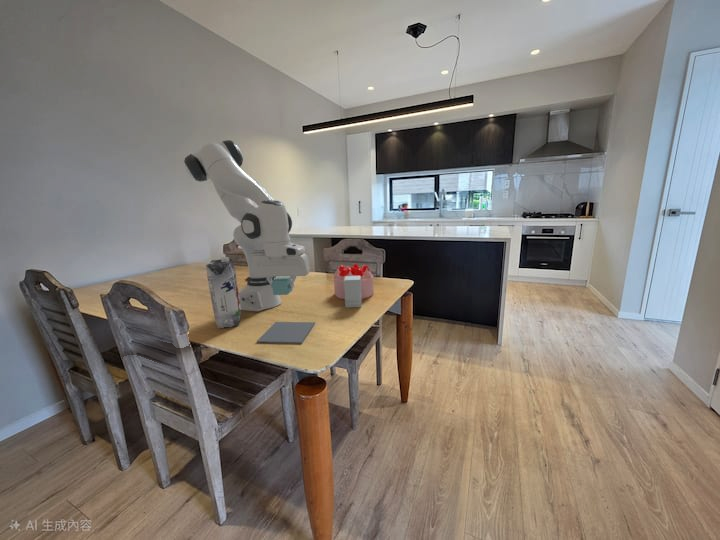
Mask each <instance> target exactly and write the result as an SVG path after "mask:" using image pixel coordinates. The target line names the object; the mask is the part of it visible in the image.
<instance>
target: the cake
mask: <svg viewBox="0 0 720 540" xmlns="http://www.w3.org/2000/svg"><path fill="white" fill-rule="evenodd" d="M345 276H361V300H365V299H367V298H370V297H372V296H373V295H374V289H375V287H374V275H373V274H372V272H371V270H370V268H369V266H368V265H365V263H363V264H362V266H361V267H360V266H359V264H358V263H354V264H353V266H351V267H350V266H349V265H346V266H344V265H340V266H339V268H338V267H337V269H336V271H335V272H334V274H333V287H334V296H335V297H336V298H338V299H340V300H344V301H345V291H344V278H345Z"/></svg>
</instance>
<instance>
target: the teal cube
mask: <svg viewBox="0 0 720 540" xmlns="http://www.w3.org/2000/svg"><path fill="white" fill-rule="evenodd" d="M291 281H292V279H290V276H276V279H274V280H272V288H273V295H279V296H288V295H289V294H290V293H291V292H292V291H293V289H289V288H288V287H289V286H288V284H289V283H291Z"/></svg>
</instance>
